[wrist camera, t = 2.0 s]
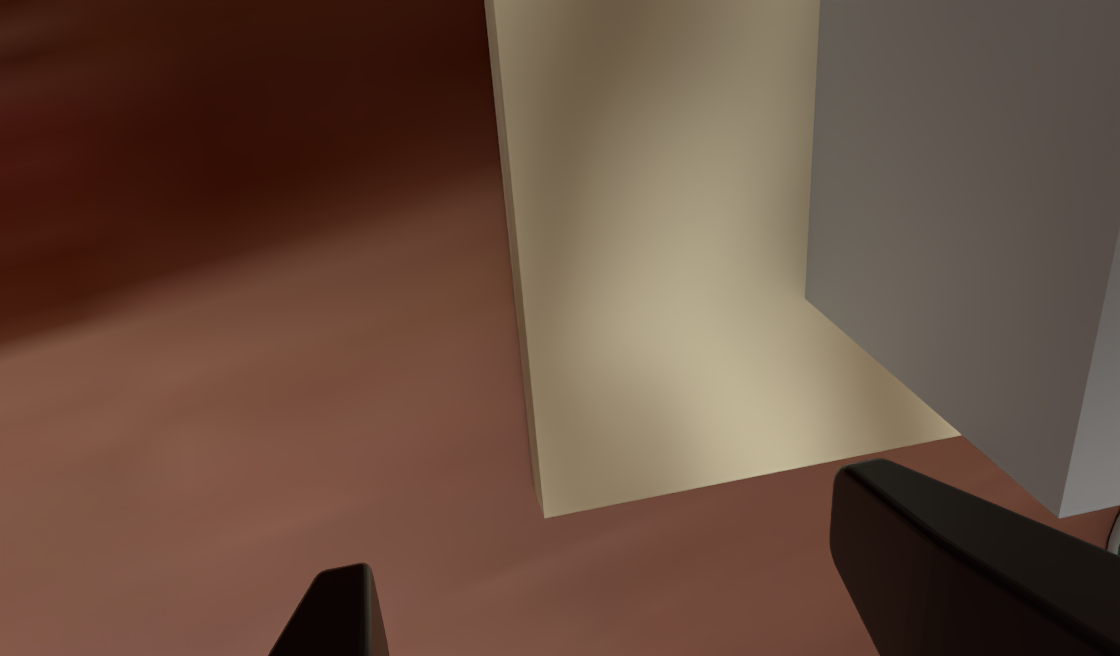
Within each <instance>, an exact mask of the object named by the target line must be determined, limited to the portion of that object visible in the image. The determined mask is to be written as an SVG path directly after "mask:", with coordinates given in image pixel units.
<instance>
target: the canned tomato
mask: <svg viewBox="0 0 1120 656" xmlns="http://www.w3.org/2000/svg"><path fill="white" fill-rule="evenodd" d="M1107 551H1109V552H1112V553H1114V554H1117V555H1119V556H1120V514H1119V516H1118V517H1117V520H1116V522H1115V525H1114V528H1113V530H1112V533H1111V536H1110V538H1109V543H1108V549H1107Z"/></svg>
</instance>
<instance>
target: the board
mask: <svg viewBox="0 0 1120 656" xmlns="http://www.w3.org/2000/svg"><path fill="white" fill-rule="evenodd" d="M484 3H485V12H486V22H487V32H488V42H489V52H490V61H491V71H492V81H493V91H494V101H495V110H496V120H497V130H498V140H499V149H500V159H501V169H502V179H503V189H504V198H505V208H506V218H507V228H508V238H509V247H510V257H511V267H512V277H513V287H514V296H515V306H516V316H517V326H518V335H519V345H520V355H521V365H522V375H523V384H524V394H525V404H526V414H527V424H528V433H529V443H530V453H531V463H532V472H533V482H534V490H535V492H536V495H537V498H538V501H539V504H540V507H541V510H542V513H543V516H544V518H549V517H554V516H559V515H564V514H569V513H574V512H579V511H584V510H589V509H594V508H599V507H604V506H609V505H614V504H619V503H624V502H629V501H634V500H639V499H644V498H649V497H654V496H659V495H664V494H669V493H674V492H679V491H684V490H689V489H695V488H700V487H705V486H710V485H715V484H720V483H725V482H730V481H735V480H740V479H745V478H750V477H755V476H760V475H765V474H770V473H775V472H780V471H785V470H790V469H795V468H800V467H805V466H810V465H815V464H820V463H825V462H830V461H835V460H840V459H845V458H850V457H855V456H860V455H865V454H870V453H875V452H880V451H885V450H890V449H895V448H900V447H905V446H910V445H915V444H920V443H925V442H930V441H935V440H940V439H945V438H950V437H955V436H960V435H961V434H960V433H959V432H958V431H957V430H956V429H955V428H953V427H952V426H951V425H950V424H949V423H948V422H946V421H945V420H944V419H943V418H942V417H941V416H940V415H938V414H937V413H936V412H935V411H934V410H933V409H932V408H930V407H929V406H928V405H927V404H926V403H925V402H923V401H922V400H921V399H920V398H919V397H918V396H917V395H915V394H914V393H913V392H912V391H911V390H910V389H908V388H907V387H906V386H905V385H904V384H903V383H902V382H900V381H899V380H898V379H897V378H896V377H895V376H894V375H892V374H891V373H890V372H889V371H888V370H887V369H885V368H884V367H883V366H882V365H881V364H880V363H879V362H877V361H876V360H875V359H874V358H873V357H872V356H870V355H869V354H868V353H867V352H866V351H865V350H864V349H862V348H861V347H860V346H859V345H858V344H857V343H856V342H854V341H853V340H852V339H851V338H850V337H849V336H847V335H846V334H845V333H844V332H843V331H842V330H841V329H839V328H838V327H837V326H836V325H835V324H834V323H832V322H831V321H830V320H829V319H828V318H827V317H826V316H824V315H823V314H822V313H821V312H820V311H819V310H818V309H816V308H815V307H814V306H813V305H812V304H811V303H809V302H808V301H807V300H806V299H805V285H806V265H807V246H808V226H809V207H810V188H811V168H812V149H813V129H814V110H815V90H816V71H817V51H818V32H819V12H820V0H484Z"/></svg>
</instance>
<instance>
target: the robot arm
mask: <svg viewBox="0 0 1120 656" xmlns="http://www.w3.org/2000/svg"><path fill="white" fill-rule="evenodd" d="M830 549H831V554H832V558H833V561H834V564H835V566H836V568H837V570H838V572H839V574H840V576H841V578H842V580H843V582H844V584H845V586H846V588H847V590H848V592H849V594H850V596H851V598H852V601H853V603H854V605H855V607H856V609H857V611H858V613H859V615H860V617H861V619H862V621H863V623H864V625H865V627H866V629H867V631H868V633H869V635H870V637H871V639H872V641H873V643H874V645H875V647H876V649H877V651H878V653H879V655H880V656H1120V556H1119V555H1117V554H1114V553H1112V552H1109V551H1107V550H1105V549H1102V548H1100V547H1097V546H1095V545H1092V544H1090V543H1088V542H1085V541H1083V540H1080V539H1078V538H1076V537H1073V536H1071V535H1068V534H1066V533H1063V532H1061V531H1059V530H1056V529H1054V528H1051V527H1049V526H1046V525H1044V524H1042V523H1039V522H1037V521H1034V520H1032V519H1030V518H1027V517H1025V516H1022V515H1020V514H1017V513H1015V512H1013V511H1010V510H1008V509H1005V508H1003V507H1001V506H998V505H996V504H993V503H991V502H988V501H986V500H984V499H981V498H979V497H976V496H974V495H971V494H969V493H967V492H964V491H962V490H959V489H957V488H955V487H952V486H950V485H947V484H945V483H942V482H940V481H938V480H935V479H933V478H930V477H928V476H926V475H923V474H921V473H918V472H916V471H913V470H911V469H909V468H906V467H904V466H901V465H899V464H896V463H894V462H892V461H889V460H886V459H881V458H877V459H871V460H866V461H861V462H856V463H851V464H846V465H843V466H842V467H841V468H839V469H838V470H837V472H836V474H835V477H834V483H833V495H832V509H831V523H830ZM268 656H389V651H388V644H387V639H386V634H385V629H384V624H383V620H382V615H381V610H380V605H379V600H378V596H377V591H376V586H375V581H374V577H373V573H372V570H371V568H370V566H369V565H368V564H366V563H357V564H352V565H347V566H342V567H337V568H332V569H327V570H324V571H322V572H320V573H319V574H318V575H317V576H316V577H315V578H314V580H313V582H312V583H311V585H310V587H309V588H308V590H307V592H306V593H305V595H304V597H303V598H302V600H301V602H300V603H299V605H298V606H297V608H296V610H295V611H294V613H293V615H292V616H291V618H290V620H289V621H288V623H287V625H286V626H285V628H284V630H283V631H282V633H281V635H280V636H279V638H278V640H277V641H276V643H275V645H274V646H273V648H272V650H271V651H270V653H269V655H268Z"/></svg>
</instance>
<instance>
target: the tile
mask: <svg viewBox="0 0 1120 656" xmlns="http://www.w3.org/2000/svg"><path fill="white" fill-rule="evenodd" d="M805 299H806V300H807V301H808V302H809V303H811V304H812V305H813V306H814V307H815V308H816V309H818V310H819V311H820V312H821V313H822V314H823V315H824V316H826V317H827V318H828V319H829V320H830V321H831V322H832V323H834V324H835V325H836V326H837V327H838V328H839V329H841V330H842V331H843V332H844V333H845V334H846V335H847V336H849V337H850V338H851V339H852V340H853V341H854V342H856V343H857V344H858V345H859V346H860V347H861V348H862V349H864V350H865V351H866V352H867V353H868V354H869V355H870V356H872V357H873V358H874V359H875V360H876V361H877V362H879V363H880V364H881V365H882V366H883V367H884V368H885V369H887V370H888V371H889V372H890V373H891V374H892V375H894V376H895V377H896V378H897V379H898V380H899V381H900V382H902V383H903V384H904V385H905V386H906V387H907V388H908V389H910V390H911V391H912V392H913V393H914V394H915V395H917V396H918V397H919V398H920V399H921V400H922V401H923V402H925V403H926V404H927V405H928V406H929V407H930V408H932V409H933V410H934V411H935V412H936V413H937V414H938V415H940V416H941V417H942V418H943V419H944V420H945V421H946V422H948V423H949V424H950V425H951V426H952V427H953V428H955V429H956V430H957V431H958V432H959V433H960V434H961V435H963V436H964V437H965V438H966V439H967V440H968V441H970V442H971V443H972V444H973V445H974V446H975V447H976V448H978V449H979V450H980V451H981V452H982V453H983V454H984V455H986V456H987V457H988V458H989V459H990V460H991V461H993V462H994V463H995V464H996V465H997V466H998V467H999V468H1001V469H1002V470H1003V471H1004V472H1005V473H1006V474H1008V475H1009V476H1010V477H1011V478H1012V479H1013V480H1014V481H1016V482H1017V483H1018V484H1019V485H1020V486H1021V487H1022V488H1024V489H1025V490H1026V491H1027V492H1028V493H1029V494H1031V495H1032V496H1033V497H1034V498H1035V499H1036V500H1037V501H1039V502H1040V503H1041V504H1042V505H1043V506H1044V507H1046V508H1047V509H1048V510H1049V511H1050V512H1051V513H1052V514H1054V515H1055V516H1056V517H1057V518H1058V519H1059V518H1064V517H1068V516H1073V515H1077V514H1082V513H1086V512H1091V511H1095V510H1100V509H1104V508H1109V507H1114V506H1118V505H1120V0H820V12H819V32H818V51H817V71H816V90H815V110H814V129H813V149H812V168H811V188H810V207H809V226H808V246H807V265H806V285H805Z"/></svg>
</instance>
